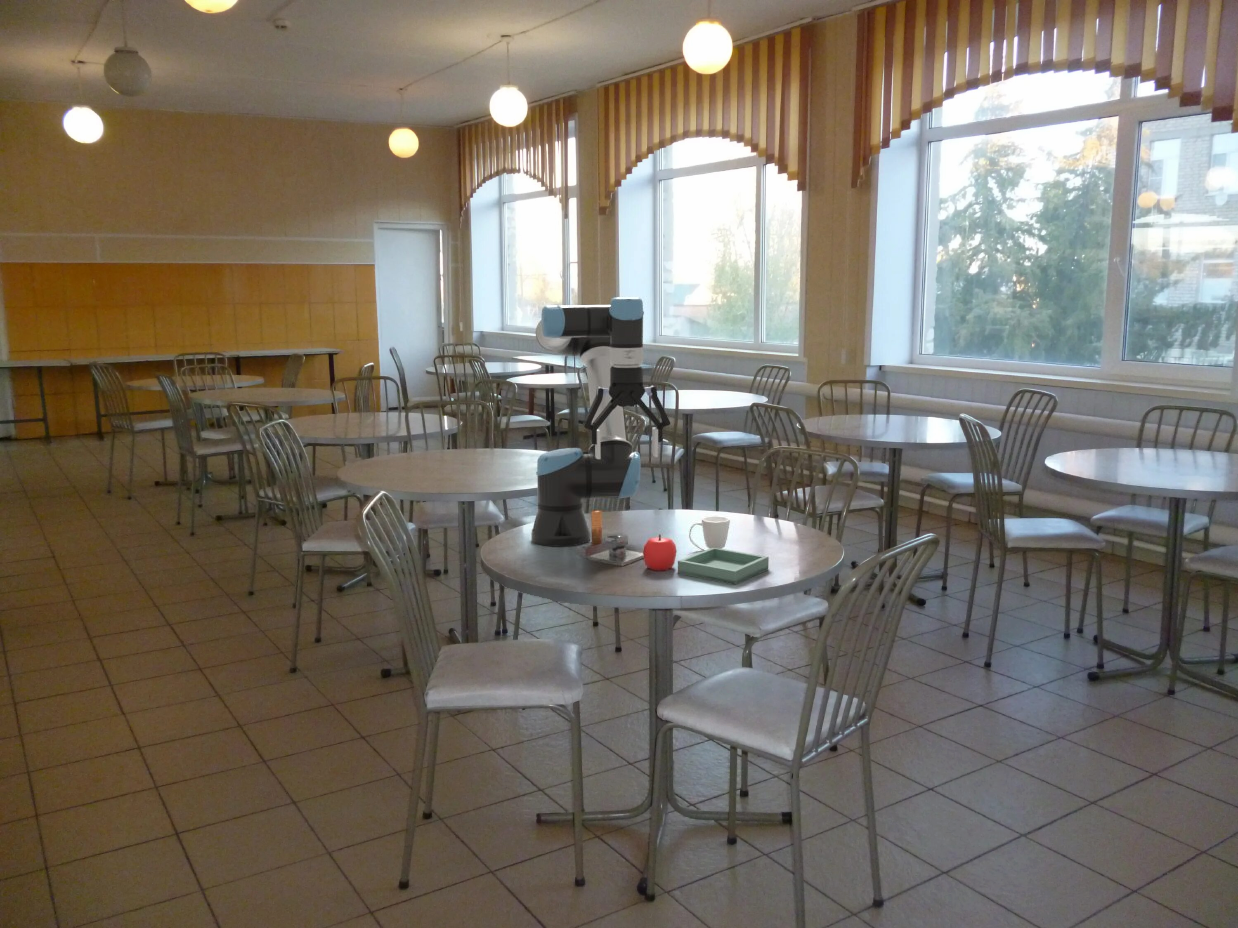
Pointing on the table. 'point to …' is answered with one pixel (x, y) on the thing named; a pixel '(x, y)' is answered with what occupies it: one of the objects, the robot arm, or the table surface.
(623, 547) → the crank post
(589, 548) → the crank
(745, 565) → the tray
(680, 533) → the table surface
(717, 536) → the cup
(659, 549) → the apple
